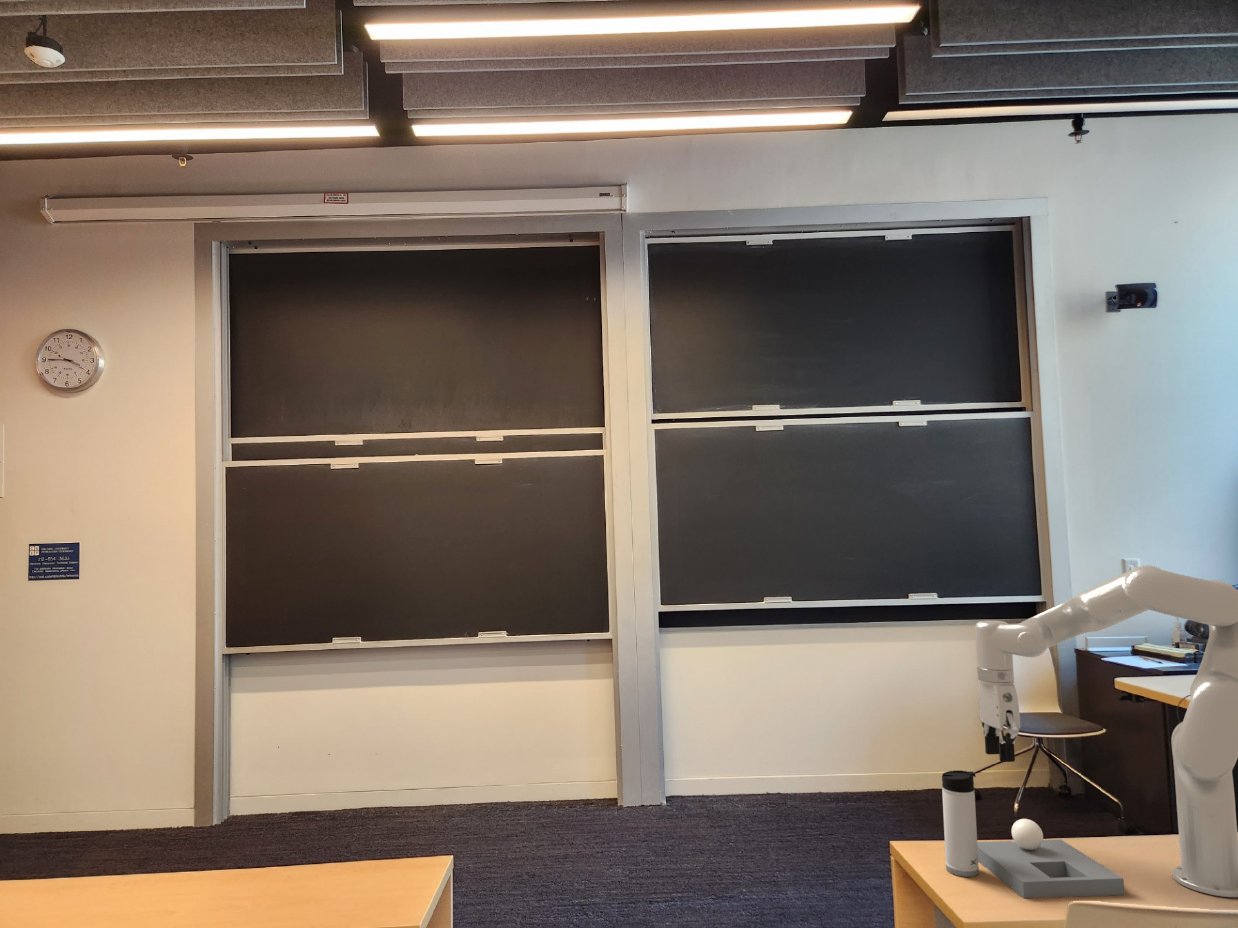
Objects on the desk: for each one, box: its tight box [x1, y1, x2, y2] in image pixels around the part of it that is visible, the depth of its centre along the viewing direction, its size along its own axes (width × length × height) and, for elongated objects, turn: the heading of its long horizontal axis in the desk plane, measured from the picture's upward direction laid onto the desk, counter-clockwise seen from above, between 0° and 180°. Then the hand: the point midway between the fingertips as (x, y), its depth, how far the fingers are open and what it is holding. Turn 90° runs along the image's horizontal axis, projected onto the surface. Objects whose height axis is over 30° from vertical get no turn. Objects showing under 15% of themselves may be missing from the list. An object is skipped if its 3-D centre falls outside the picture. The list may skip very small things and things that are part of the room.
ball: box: [1011, 818, 1044, 850], centre depth 169 cm, size 6×6×6 cm
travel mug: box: [941, 769, 980, 878], centre depth 166 cm, size 6×7×20 cm
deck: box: [977, 838, 1125, 899], centre depth 163 cm, size 20×20×3 cm
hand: (999, 756), depth 179 cm, fingers open, 5 cm apart
